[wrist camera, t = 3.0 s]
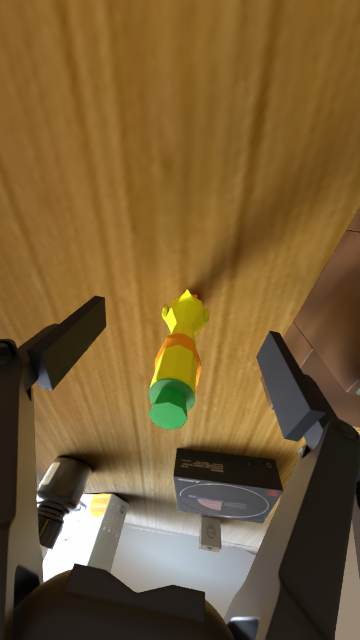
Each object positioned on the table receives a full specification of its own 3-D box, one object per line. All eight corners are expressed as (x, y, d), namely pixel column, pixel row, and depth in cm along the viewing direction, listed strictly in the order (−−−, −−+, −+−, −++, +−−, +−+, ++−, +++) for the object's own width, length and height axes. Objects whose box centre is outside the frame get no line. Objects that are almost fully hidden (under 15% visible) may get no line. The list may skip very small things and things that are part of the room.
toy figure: (203, 335, 20) (200, 471, 10) (170, 331, 20) (132, 460, 10) (211, 272, 16) (219, 382, 6) (170, 269, 17) (114, 370, 6)
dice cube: (220, 519, 50) (221, 548, 46) (217, 524, 53) (218, 552, 49) (201, 516, 51) (201, 544, 46) (199, 521, 53) (199, 548, 49)
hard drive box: (112, 491, 49) (63, 641, 32) (130, 502, 52) (93, 644, 35) (73, 494, 55) (13, 623, 38) (91, 504, 58) (43, 628, 41)
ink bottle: (51, 451, 40) (-1, 533, 30) (91, 460, 40) (52, 546, 30) (59, 469, 46) (17, 545, 35) (94, 477, 45) (62, 556, 35)
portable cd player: (180, 486, 42) (178, 511, 39) (176, 448, 33) (173, 476, 30) (257, 497, 40) (261, 524, 37) (274, 459, 31) (283, 490, 28)
